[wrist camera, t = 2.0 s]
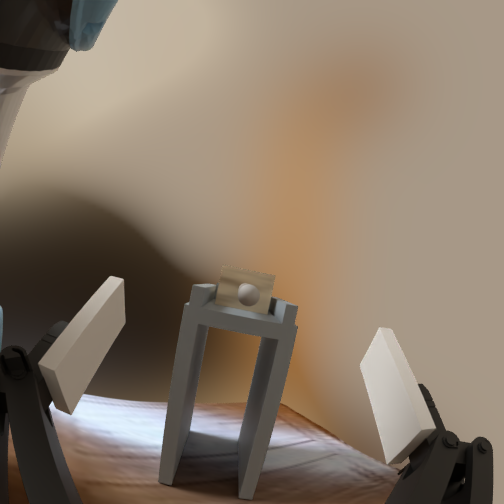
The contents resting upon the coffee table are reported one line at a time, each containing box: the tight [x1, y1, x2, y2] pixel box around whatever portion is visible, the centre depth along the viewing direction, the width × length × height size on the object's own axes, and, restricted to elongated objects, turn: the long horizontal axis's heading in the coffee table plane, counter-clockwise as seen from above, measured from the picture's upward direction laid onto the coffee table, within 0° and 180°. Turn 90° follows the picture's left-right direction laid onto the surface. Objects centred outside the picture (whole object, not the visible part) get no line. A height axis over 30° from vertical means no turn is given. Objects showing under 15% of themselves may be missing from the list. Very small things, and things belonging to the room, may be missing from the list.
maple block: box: [215, 265, 275, 315], centre depth 41 cm, size 27×8×6 cm, turn 2°
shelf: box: [158, 283, 298, 500], centre depth 45 cm, size 20×14×31 cm
